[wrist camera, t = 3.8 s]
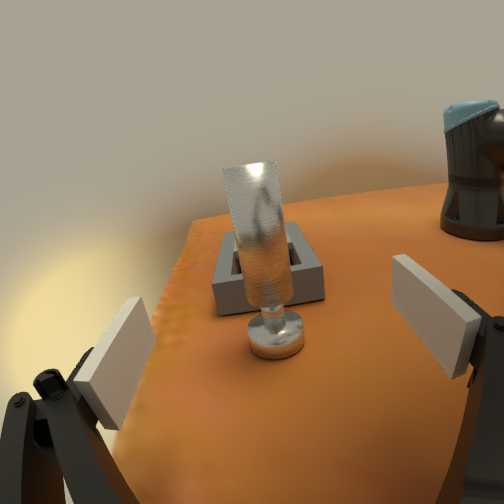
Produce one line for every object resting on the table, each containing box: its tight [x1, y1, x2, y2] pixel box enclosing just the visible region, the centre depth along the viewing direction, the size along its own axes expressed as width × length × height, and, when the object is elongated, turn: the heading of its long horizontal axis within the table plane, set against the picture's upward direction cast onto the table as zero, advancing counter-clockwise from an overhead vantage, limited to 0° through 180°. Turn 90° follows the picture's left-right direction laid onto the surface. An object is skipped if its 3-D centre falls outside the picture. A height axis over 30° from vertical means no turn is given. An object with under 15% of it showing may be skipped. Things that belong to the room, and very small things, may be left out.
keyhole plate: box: [212, 222, 325, 315], centre depth 42 cm, size 20×12×4 cm, turn 1°
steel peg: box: [222, 160, 304, 359], centre depth 25 cm, size 5×5×16 cm
